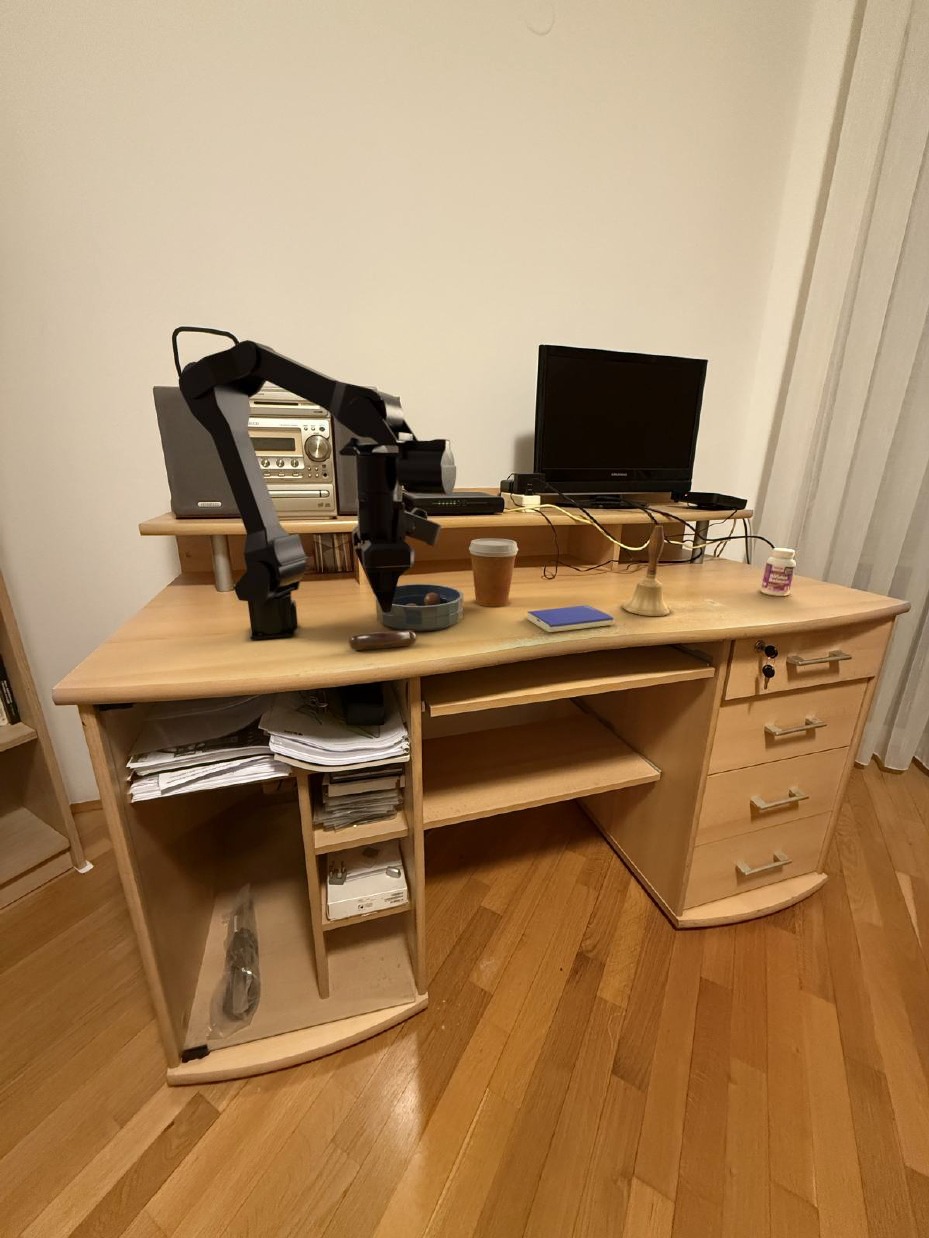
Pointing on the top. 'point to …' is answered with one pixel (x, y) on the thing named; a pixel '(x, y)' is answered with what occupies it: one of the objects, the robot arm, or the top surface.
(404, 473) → the robot arm
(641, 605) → the hand bell
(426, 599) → the glossy brown ball
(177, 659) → the top surface
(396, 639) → the stick
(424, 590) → the bowl
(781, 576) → the pill bottle
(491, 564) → the disposable coffee cup
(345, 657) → the top surface
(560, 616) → the hard drive
